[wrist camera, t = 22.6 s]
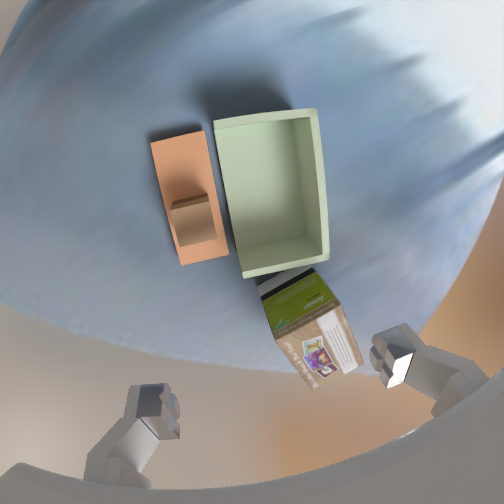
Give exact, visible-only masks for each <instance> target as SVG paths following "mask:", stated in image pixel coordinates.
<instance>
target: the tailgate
mask: <svg viewBox="0 0 504 504" xmlns="http://www.w3.org/2000/svg"><path fill="white" fill-rule="evenodd" d="M150 144H151V149H152V153H153V158H154V163H155V167H156V172H157V176H158V180H159V185H160V189H161V193H162V197H163V201H164V205H165V209H166V213H167V216H168V220H169V224H170V228H171V231H172V235H173V239H174V242H175V246H176V249H177V253H178V256H179V259H180V263H181V265H186V264H190V263H194V262H199V261H203V260H207V259H212V258H216V257H220V256H225V255H229V251H228V246H227V241H226V237H225V232H224V227H223V222H222V217H221V213H220V208H219V203H218V198H217V193H216V188H215V183H214V178H213V172H212V167H211V162H210V157H209V152H208V146H207V141H206V136H205V130H204V131H199V132H194V133H190V134H185V135H181V136H177V137H173V138H169V139H165V140H161V141H157V142H153V143H150ZM207 193H208V197H209V202H210V206H211V211H212V216H213V220H214V225H215V230H216V234H217V239H214V240H209V241H205V242H201V243H197V244H192V245H188V246H184V247H179V243H178V240H177V236H176V232H175V229H174V225H173V221H172V217H171V213H170V208H171V206H172V203H173V201H177V200H181V199H185V198H190V197H194V196H198V195H203V194H207Z"/></svg>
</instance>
